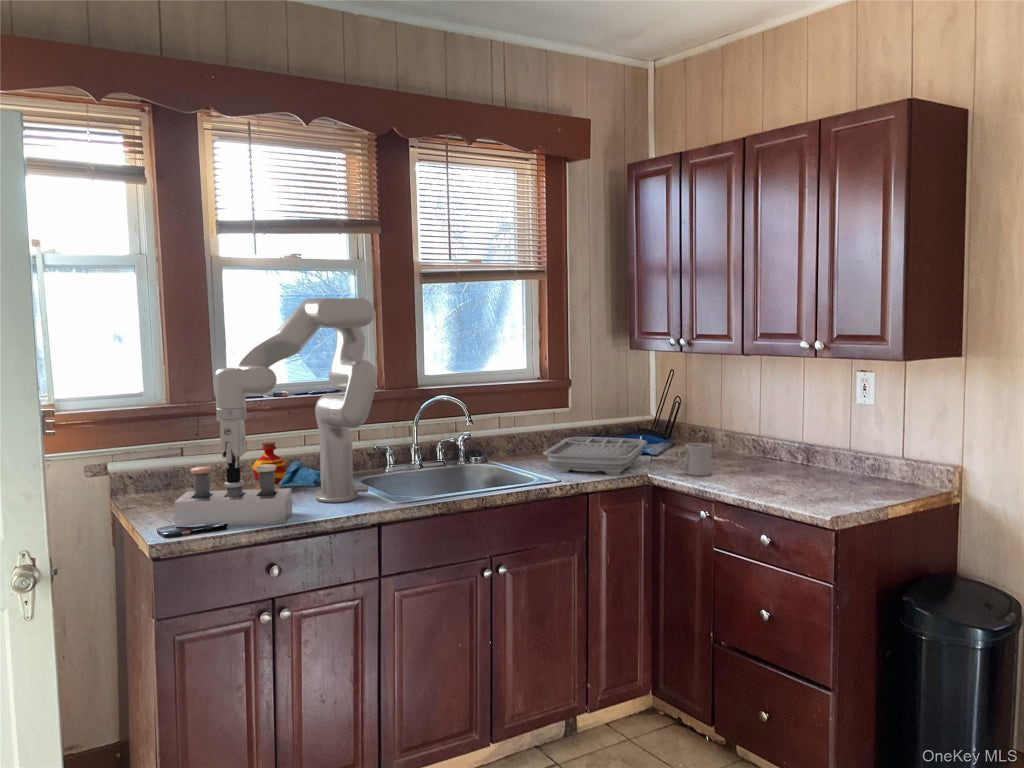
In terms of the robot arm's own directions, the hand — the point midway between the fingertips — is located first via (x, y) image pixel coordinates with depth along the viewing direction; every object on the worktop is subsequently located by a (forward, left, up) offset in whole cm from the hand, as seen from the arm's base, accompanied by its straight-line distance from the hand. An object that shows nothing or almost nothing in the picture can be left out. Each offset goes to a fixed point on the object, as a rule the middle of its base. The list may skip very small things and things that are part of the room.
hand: (233, 481), depth 219 cm
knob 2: (-9, 0, -4) cm, 10 cm away
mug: (-142, -39, -11) cm, 148 cm away
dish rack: (-113, -58, -11) cm, 127 cm away
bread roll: (-5, -19, -11) cm, 22 cm away
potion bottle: (-3, -37, -11) cm, 39 cm away
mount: (0, 0, -11) cm, 11 cm away
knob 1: (+8, 0, -4) cm, 9 cm away
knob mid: (0, 0, -8) cm, 8 cm away
